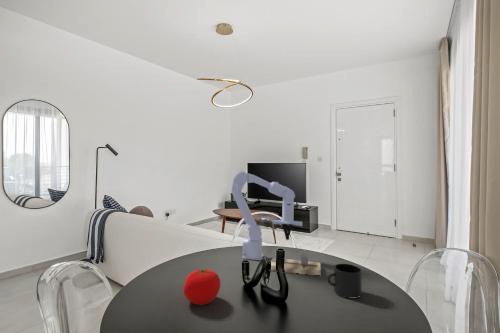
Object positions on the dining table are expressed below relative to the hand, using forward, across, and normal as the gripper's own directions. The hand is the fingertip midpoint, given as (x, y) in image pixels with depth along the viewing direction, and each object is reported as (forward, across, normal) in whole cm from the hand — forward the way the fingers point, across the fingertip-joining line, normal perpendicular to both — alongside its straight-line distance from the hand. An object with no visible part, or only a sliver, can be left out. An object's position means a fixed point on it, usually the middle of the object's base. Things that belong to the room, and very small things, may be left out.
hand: (287, 239), depth 133 cm
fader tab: (+7, +9, -14) cm, 18 cm away
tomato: (+10, -23, -52) cm, 58 cm away
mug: (+10, +24, -32) cm, 41 cm away
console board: (+9, +5, -14) cm, 18 cm away
